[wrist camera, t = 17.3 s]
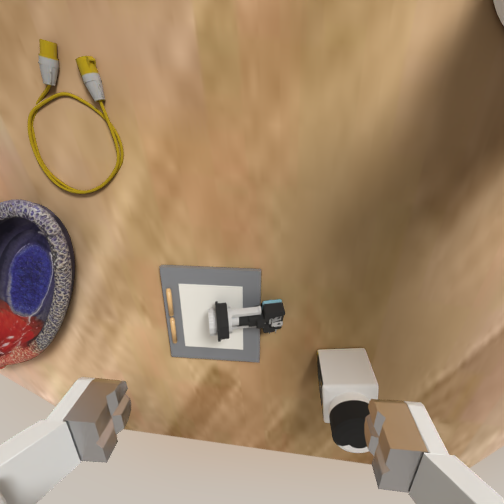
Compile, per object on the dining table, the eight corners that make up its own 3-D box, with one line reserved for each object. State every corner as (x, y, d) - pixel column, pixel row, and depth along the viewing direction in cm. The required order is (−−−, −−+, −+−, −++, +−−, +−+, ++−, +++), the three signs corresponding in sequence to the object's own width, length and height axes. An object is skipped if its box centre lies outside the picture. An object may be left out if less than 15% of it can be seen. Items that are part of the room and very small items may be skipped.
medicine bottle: (316, 348, 45) (327, 421, 34) (365, 346, 44) (392, 420, 33) (318, 383, 48) (329, 460, 37) (364, 382, 47) (389, 461, 36)
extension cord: (153, 98, 34) (146, 97, 32) (103, 209, 40) (94, 213, 38) (53, 27, 32) (39, 21, 30) (15, 155, 38) (1, 156, 36)
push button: (282, 346, 42) (211, 355, 41) (275, 315, 46) (210, 322, 45) (288, 319, 38) (208, 328, 36) (279, 287, 42) (207, 294, 40)
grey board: (261, 269, 41) (260, 273, 39) (259, 359, 47) (259, 365, 46) (161, 264, 42) (157, 269, 40) (173, 353, 48) (170, 359, 47)
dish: (111, 230, 40) (90, 244, 36) (50, 367, 52) (28, 390, 48) (1, 166, 38) (-37, 172, 34) (-37, 324, 50) (-69, 345, 45)
